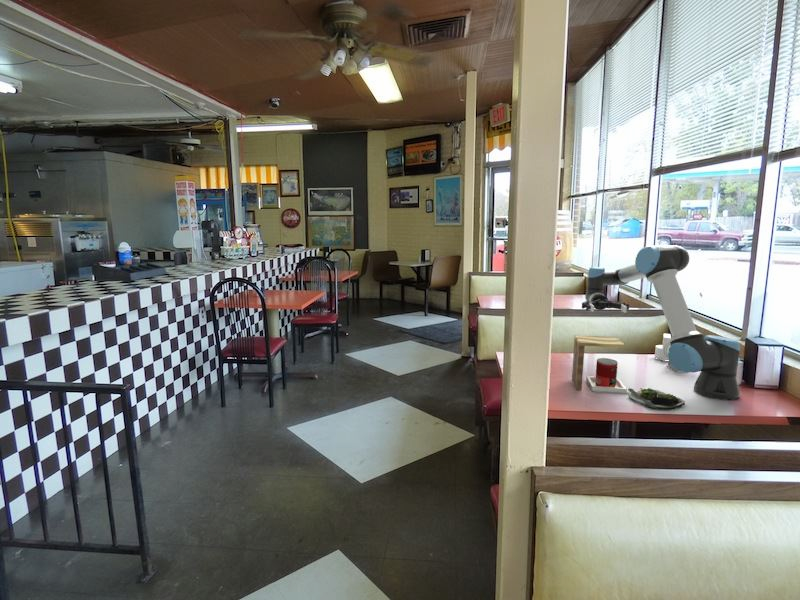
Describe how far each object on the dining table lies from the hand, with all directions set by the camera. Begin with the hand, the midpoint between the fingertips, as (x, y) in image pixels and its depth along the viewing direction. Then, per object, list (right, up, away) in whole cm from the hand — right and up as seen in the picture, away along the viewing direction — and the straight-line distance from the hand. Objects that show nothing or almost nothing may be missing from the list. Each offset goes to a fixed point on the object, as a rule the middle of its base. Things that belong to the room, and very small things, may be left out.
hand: (609, 309), depth 201 cm
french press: (+37, -28, +13) cm, 48 cm away
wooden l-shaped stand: (-10, -32, -10) cm, 35 cm away
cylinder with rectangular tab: (+41, -26, +27) cm, 56 cm away
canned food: (-7, -32, -11) cm, 34 cm away
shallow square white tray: (-7, -32, -11) cm, 35 cm away
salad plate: (+6, -36, -26) cm, 45 cm away
